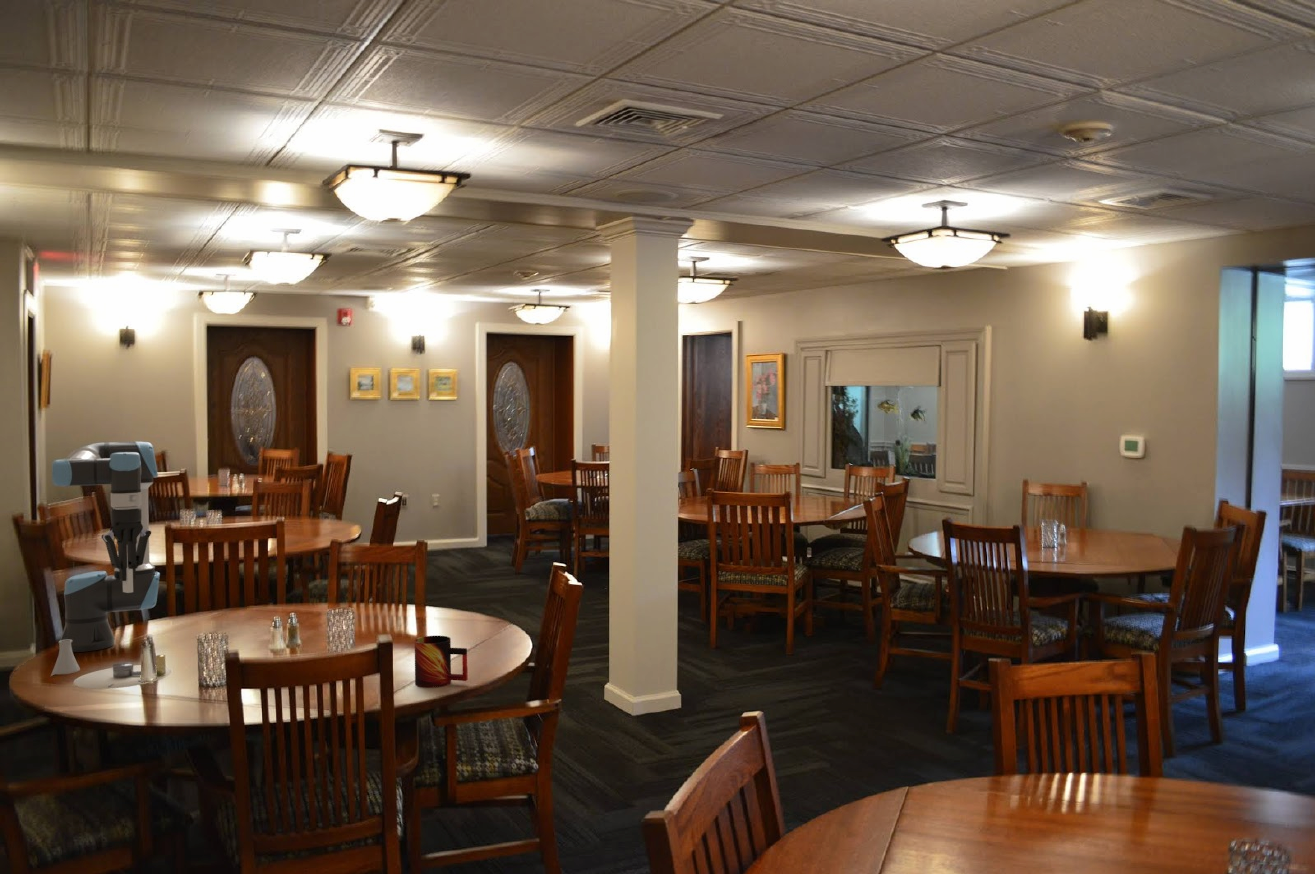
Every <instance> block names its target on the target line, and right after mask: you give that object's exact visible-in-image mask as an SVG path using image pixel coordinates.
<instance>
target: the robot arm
mask: <svg viewBox="0 0 1315 874" xmlns="http://www.w3.org/2000/svg"><path fill="white" fill-rule="evenodd" d="M155 455H156V454H155V449H154V446H153V444H152V443H151V442H148V441H118V442H117V441H115V442H114V441H112V442H106V441H105V442H95V443H90V444H86V445H82V446H80V447H77V448H75V449H74V450H72V451H71V452H70V453H69V454H68V455H67V457H66V458H62V459H55V460H53V462H52V463H51V481H52V485H54V486H56V487H79V486H80V487H81V486H107V485H108V486H109V485H110V507H111V510H110V522H111V525H110V528H109V532H107V533H105V534H102V535H101V539H102V541H104V543H105V546H106V550H107V553H108V557H109V558H108V559H109V561H110V563H111V564H110V565H111V567H112V568H114V571H113V573H114V574H111V575H108V573H107V571H105V570H98V571H97V570H96V571H90V572H89V571H88V572H84V573H80V574H76V575H73V576H71V577H69V578H67V579H66V580H65V583H64V592H63V596H64V609H65V611H64V612H65V613H64V615H65V617H64V618H65V625H64V628H63V632H62V634H61V636H60V640H59V641H61V640H66V639H70V640H72V642H71V648H72V652H73V653H85V652H94V651H99V650H100V651H101V650H103V649H104V650H105V649H107V648H110V647H112V646H114V645H115V636H114V633H113V631H112V628H111V625H110V623H109V621H108V613H116V612H126V611H129V612H130V611H141V610H148V609H152V608H154V607H155V606H156V605H157V601H158V600H157V599H158V592H159V586H160V585H159V584H160V576H161V573H160V572H158V571H156V570H155V569H156V566H155V565H154V564H152V562H150V536H151V535H152V531H151V530H150V528H149V527H150V521H149V519H150V518H149V488H150V487H151V486H152V485H153V484H154V478H158V476H159V474H158V467H157V463H156V462H157V461H156V456H155ZM114 538H115V539H116V544H117V548H116V544H115V541H114ZM58 644H59V643H58ZM58 648H59V650H60V644H59V647H58Z"/></svg>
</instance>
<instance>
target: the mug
mask: <svg viewBox="0 0 1315 874" xmlns="http://www.w3.org/2000/svg"><path fill="white" fill-rule="evenodd" d="M451 643H452V642H451V637H450V636H446V635H426V636H421V637H417V638H416V639H414V685H415V686H416V687H418V688H425V689H434V688H442V687H445V686H448V685H450V684H452V681H457V682H458V681H461V682H462V681H463V682H467V681H468V677H469V676H468V673H469V672H468V648H465V647H452V644H451ZM452 655H461V656H462V659H461V660H462V664H461V665H462V674H461V673H451V672H452V662H451V661H452V658H451V657H452Z"/></svg>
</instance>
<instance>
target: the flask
mask: <svg viewBox="0 0 1315 874" xmlns="http://www.w3.org/2000/svg"><path fill="white" fill-rule="evenodd" d="M60 640H61V639H60ZM60 640H59V641H58V644H60V650H59V651H58V656H57V659H56V662H55V664H54V667H53V669H52V672H51V674H50V677H53V675H70V674H73V673H77V672H78V671H81V668H80V665H79V664H78V662H77V660H76V658H75V656H74V652H72V648H71V642H72V640H70V639H66V640H61V641H60Z"/></svg>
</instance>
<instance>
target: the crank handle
mask: <svg viewBox="0 0 1315 874" xmlns="http://www.w3.org/2000/svg"><path fill="white" fill-rule="evenodd" d="M133 666H134V663H133V662H132V661H131V662H129V661H127V662H119V663H115V664H113V665H112V668H113V677H115V678H123V677H129V676H138V675H141V671H139V672H133ZM155 666H156V669H157V675H165V674H166V667H167V666H166V654H158V655H156V656H155Z"/></svg>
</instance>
